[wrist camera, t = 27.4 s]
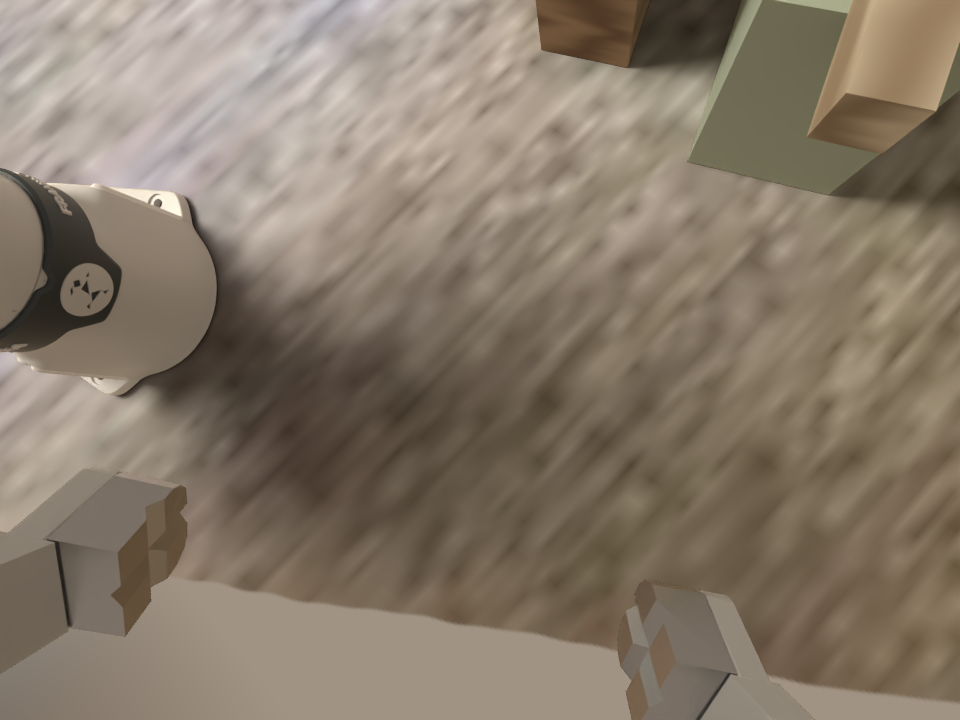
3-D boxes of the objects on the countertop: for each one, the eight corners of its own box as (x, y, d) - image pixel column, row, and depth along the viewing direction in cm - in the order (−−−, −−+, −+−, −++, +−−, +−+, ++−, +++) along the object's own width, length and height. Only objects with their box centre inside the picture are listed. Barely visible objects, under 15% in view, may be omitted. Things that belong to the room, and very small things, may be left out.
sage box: (687, 161, 40) (762, -2, 24) (746, -16, 40) (864, -305, 24) (827, 195, 38) (1018, 43, 22) (890, 9, 38) (1129, -287, 22)
